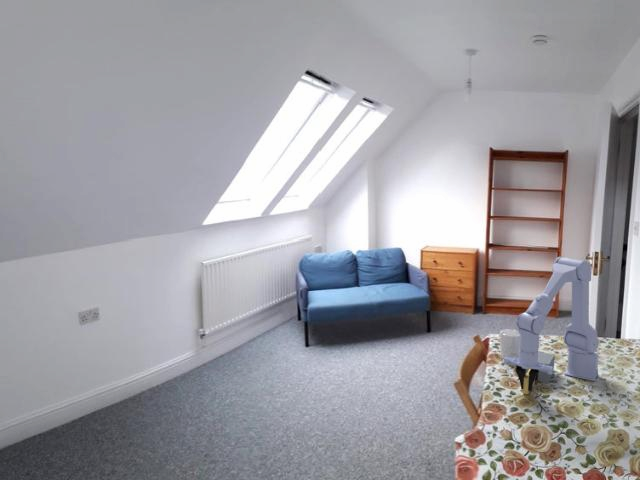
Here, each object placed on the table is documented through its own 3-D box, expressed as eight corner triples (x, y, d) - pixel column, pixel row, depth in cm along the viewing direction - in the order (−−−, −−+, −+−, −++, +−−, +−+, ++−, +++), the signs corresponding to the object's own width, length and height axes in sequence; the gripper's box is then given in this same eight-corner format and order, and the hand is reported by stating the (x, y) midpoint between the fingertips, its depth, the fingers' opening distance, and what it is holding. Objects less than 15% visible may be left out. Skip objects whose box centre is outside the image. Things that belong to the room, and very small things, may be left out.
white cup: (522, 362, 181) (524, 336, 180) (500, 360, 183) (501, 335, 181) (518, 353, 189) (519, 329, 187) (497, 352, 190) (498, 328, 189)
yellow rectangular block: (534, 383, 163) (535, 367, 163) (527, 394, 155) (528, 378, 155) (529, 381, 164) (530, 366, 163) (523, 393, 156) (523, 377, 155)
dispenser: (553, 372, 172) (554, 354, 170) (547, 384, 163) (548, 365, 162) (526, 367, 177) (527, 349, 176) (519, 377, 168) (520, 359, 167)
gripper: (502, 348, 155) (500, 388, 158) (550, 358, 147) (548, 400, 149) (507, 342, 161) (505, 380, 163) (555, 351, 153) (552, 391, 155)
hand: (526, 389), depth 157 cm, fingers closed on yellow rectangular block
